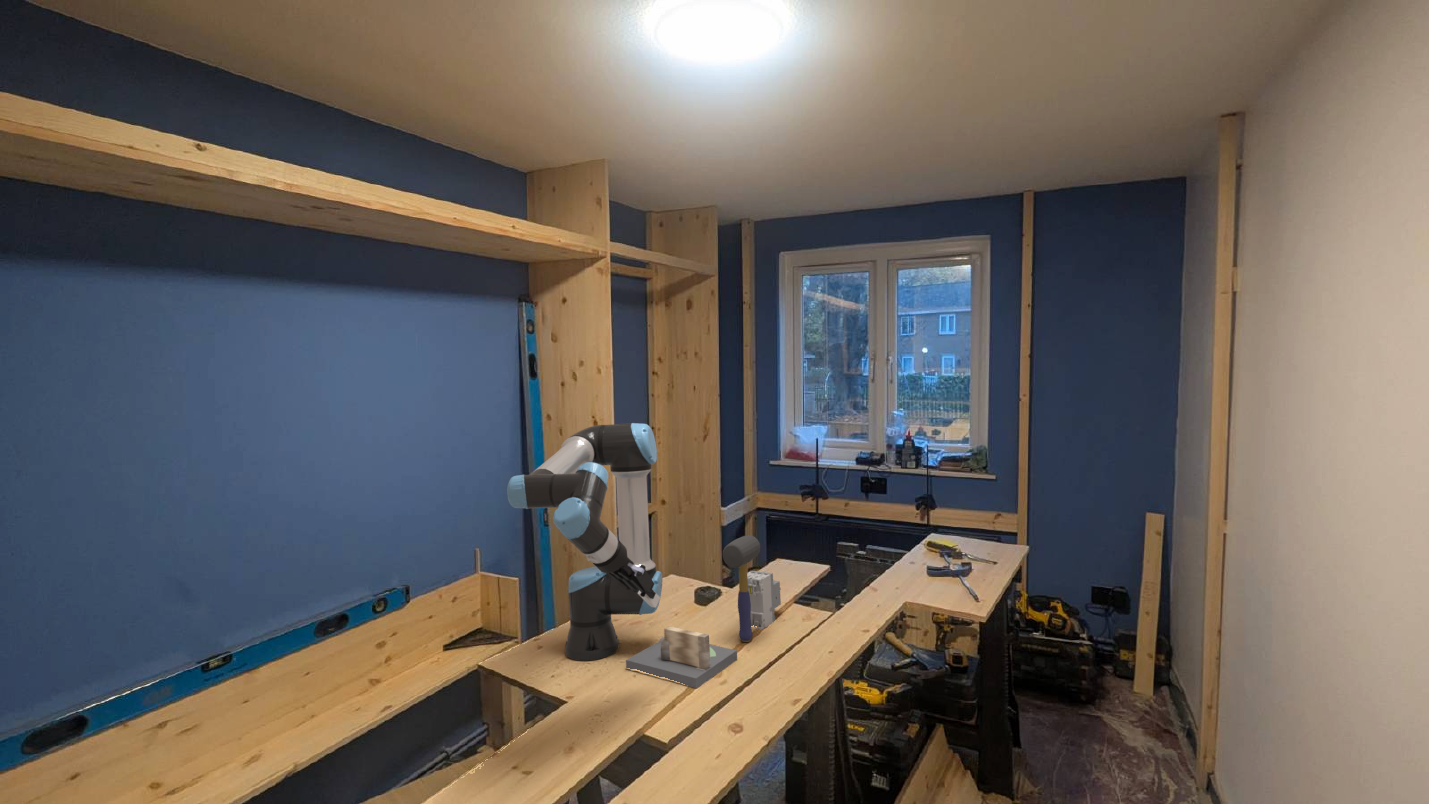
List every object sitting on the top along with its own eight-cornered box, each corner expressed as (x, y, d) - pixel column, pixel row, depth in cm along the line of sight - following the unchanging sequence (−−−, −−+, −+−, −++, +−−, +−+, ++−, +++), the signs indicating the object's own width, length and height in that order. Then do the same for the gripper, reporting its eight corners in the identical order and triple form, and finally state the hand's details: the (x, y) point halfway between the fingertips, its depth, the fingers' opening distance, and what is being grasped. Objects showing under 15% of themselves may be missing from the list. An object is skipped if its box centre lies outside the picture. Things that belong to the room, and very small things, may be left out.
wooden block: (658, 658, 169) (656, 628, 169) (666, 653, 172) (665, 624, 172) (704, 670, 160) (702, 638, 160) (712, 664, 163) (710, 633, 163)
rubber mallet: (748, 651, 178) (743, 544, 177) (724, 647, 181) (719, 542, 181) (766, 635, 189) (761, 534, 188) (743, 631, 192) (739, 532, 192)
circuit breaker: (783, 614, 205) (781, 568, 205) (762, 629, 193) (760, 580, 193) (762, 610, 209) (760, 565, 209) (741, 625, 197) (739, 577, 197)
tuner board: (626, 669, 170) (625, 659, 170) (670, 643, 185) (669, 635, 185) (696, 688, 157) (696, 678, 157) (737, 659, 173) (736, 650, 172)
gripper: (575, 561, 144) (628, 612, 158) (619, 568, 136) (670, 620, 150) (591, 533, 148) (641, 584, 162) (634, 538, 141) (683, 592, 155)
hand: (655, 602), depth 156 cm, fingers closed
